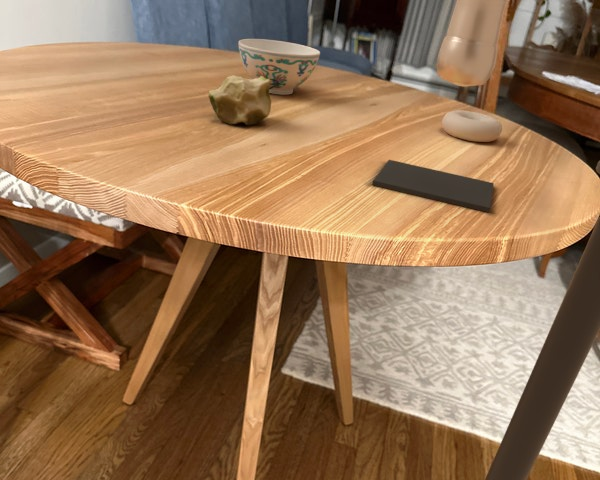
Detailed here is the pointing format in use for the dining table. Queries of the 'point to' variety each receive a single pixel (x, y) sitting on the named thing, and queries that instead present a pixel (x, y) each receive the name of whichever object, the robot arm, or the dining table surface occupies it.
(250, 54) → the chinaware
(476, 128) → the donut
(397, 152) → the dining table surface
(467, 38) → the plastic bottle
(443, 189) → the mat
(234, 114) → the fruit
